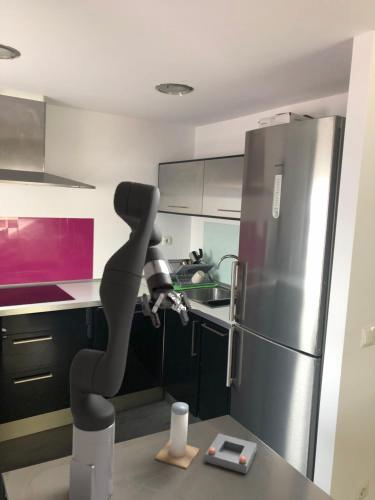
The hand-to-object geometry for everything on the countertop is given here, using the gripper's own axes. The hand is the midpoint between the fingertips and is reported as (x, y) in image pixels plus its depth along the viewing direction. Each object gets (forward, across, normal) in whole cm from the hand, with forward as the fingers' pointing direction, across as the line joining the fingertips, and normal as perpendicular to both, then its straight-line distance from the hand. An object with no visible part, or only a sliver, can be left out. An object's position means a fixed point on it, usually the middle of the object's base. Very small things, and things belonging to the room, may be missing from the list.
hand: (172, 325), depth 115 cm
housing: (+35, +11, +11) cm, 38 cm away
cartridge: (+30, -2, +15) cm, 33 cm away
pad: (+31, -2, +16) cm, 34 cm away
